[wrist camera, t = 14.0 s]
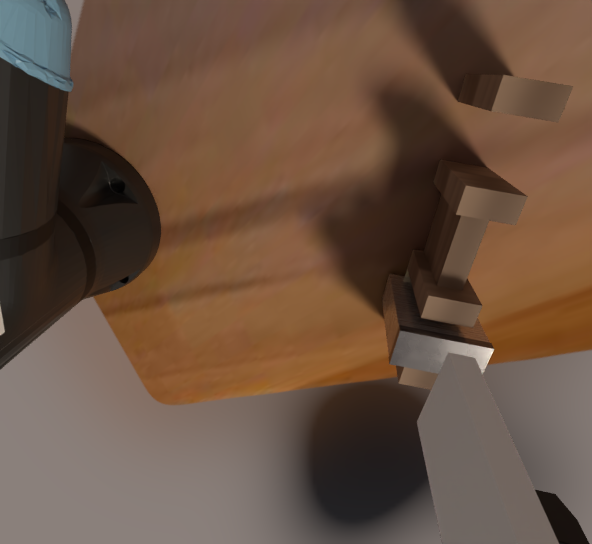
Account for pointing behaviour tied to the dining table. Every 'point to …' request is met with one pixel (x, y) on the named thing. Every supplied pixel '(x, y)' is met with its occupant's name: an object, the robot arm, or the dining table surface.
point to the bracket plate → (426, 332)
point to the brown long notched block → (471, 209)
